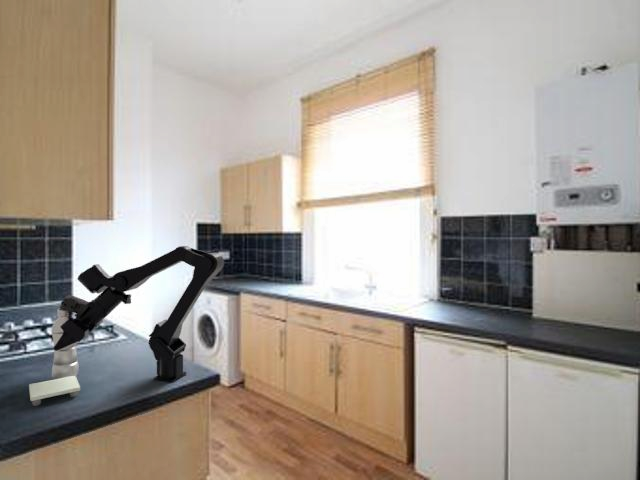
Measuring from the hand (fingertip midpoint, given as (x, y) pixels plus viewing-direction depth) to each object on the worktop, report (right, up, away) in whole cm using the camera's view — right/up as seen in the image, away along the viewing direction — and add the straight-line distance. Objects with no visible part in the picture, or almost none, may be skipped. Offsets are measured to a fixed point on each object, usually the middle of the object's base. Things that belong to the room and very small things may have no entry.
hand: (59, 345), depth 106 cm
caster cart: (+6, -10, -10) cm, 15 cm away
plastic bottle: (+1, -10, +1) cm, 10 cm away
